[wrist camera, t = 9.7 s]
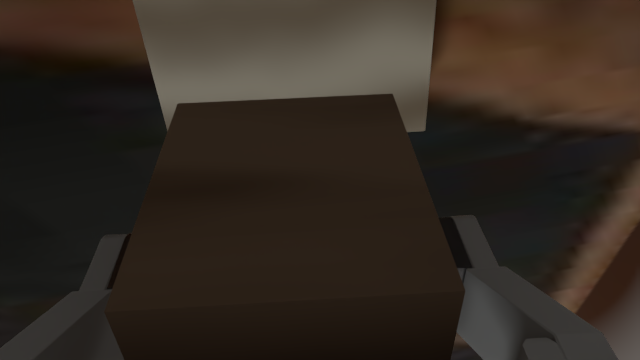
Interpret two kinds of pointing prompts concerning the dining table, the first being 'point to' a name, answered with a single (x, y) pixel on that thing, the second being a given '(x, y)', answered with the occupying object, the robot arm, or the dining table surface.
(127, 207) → the dining table surface
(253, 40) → the ash platform
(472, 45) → the dining table surface
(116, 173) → the dining table surface
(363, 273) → the walnut block
